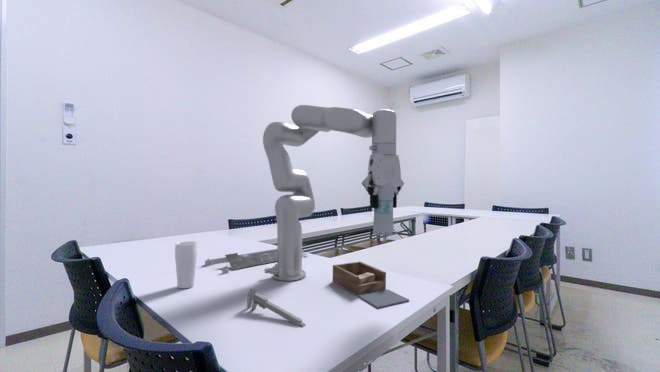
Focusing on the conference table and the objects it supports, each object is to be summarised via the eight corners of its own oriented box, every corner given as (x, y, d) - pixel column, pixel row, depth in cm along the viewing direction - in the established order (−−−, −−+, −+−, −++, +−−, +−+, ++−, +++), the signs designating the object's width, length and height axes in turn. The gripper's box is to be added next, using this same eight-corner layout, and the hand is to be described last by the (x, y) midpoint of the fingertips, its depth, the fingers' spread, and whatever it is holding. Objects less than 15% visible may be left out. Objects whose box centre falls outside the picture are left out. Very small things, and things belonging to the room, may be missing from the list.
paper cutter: (205, 265, 130) (205, 253, 130) (289, 251, 160) (289, 240, 160) (222, 275, 117) (222, 261, 117) (310, 257, 147) (310, 246, 147)
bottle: (394, 237, 89) (394, 170, 89) (371, 236, 90) (372, 170, 90) (394, 233, 96) (394, 171, 95) (373, 232, 97) (373, 171, 97)
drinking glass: (201, 284, 105) (201, 242, 104) (185, 291, 98) (186, 245, 98) (185, 282, 107) (186, 240, 107) (170, 288, 100) (170, 244, 100)
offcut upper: (360, 286, 98) (360, 278, 98) (353, 284, 100) (353, 276, 100) (374, 281, 103) (374, 274, 103) (367, 279, 105) (367, 272, 105)
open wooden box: (356, 295, 95) (356, 277, 95) (332, 281, 109) (332, 265, 109) (385, 289, 101) (385, 272, 101) (359, 276, 115) (359, 261, 115)
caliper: (246, 309, 85) (246, 287, 85) (249, 307, 86) (249, 286, 86) (303, 328, 74) (303, 303, 74) (306, 326, 75) (306, 301, 75)
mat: (377, 308, 85) (377, 306, 85) (358, 296, 94) (358, 295, 94) (409, 301, 91) (409, 299, 91) (388, 290, 100) (388, 289, 100)
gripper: (368, 147, 85) (367, 209, 85) (413, 151, 94) (412, 207, 94) (354, 150, 92) (353, 207, 92) (397, 153, 100) (396, 206, 100)
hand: (383, 207), depth 93 cm, fingers closed on bottle, 6 cm apart
